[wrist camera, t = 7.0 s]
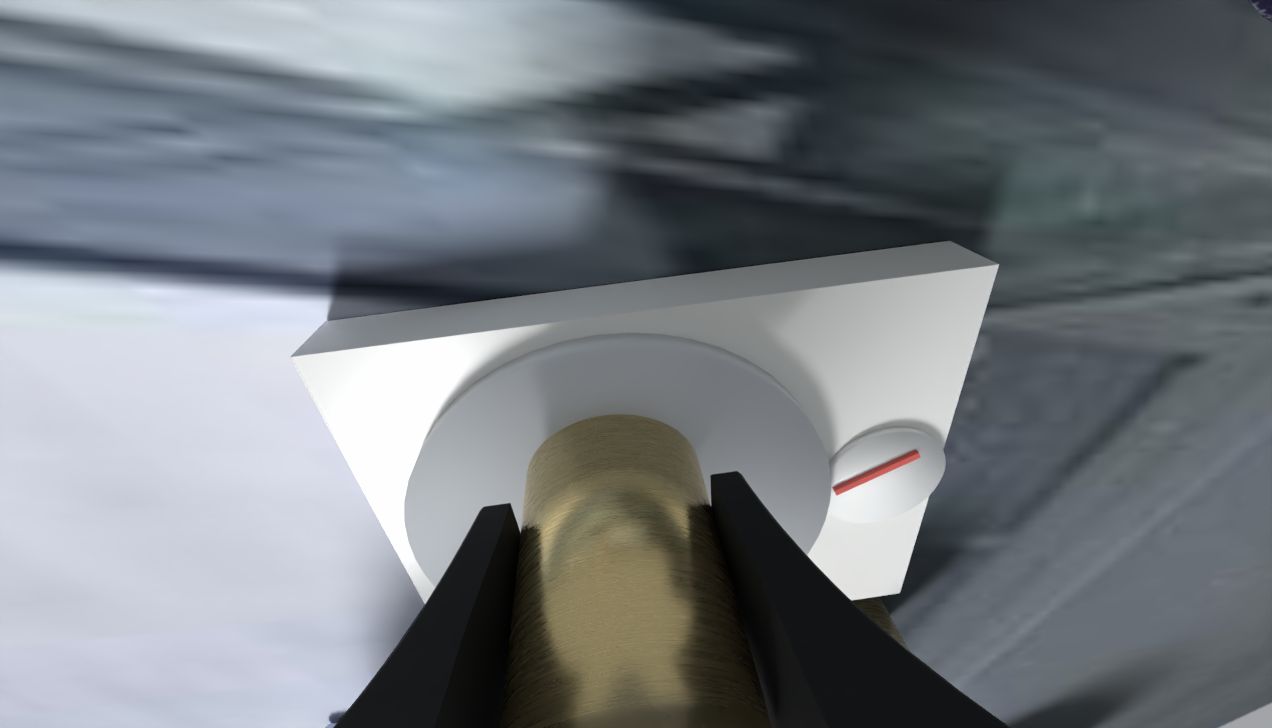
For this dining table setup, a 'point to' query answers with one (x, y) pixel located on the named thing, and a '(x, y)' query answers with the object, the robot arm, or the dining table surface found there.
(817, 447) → the kitchen scale
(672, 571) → the cylinder
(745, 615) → the robot arm
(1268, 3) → the storage jar
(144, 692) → the dining table surface
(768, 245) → the dining table surface
